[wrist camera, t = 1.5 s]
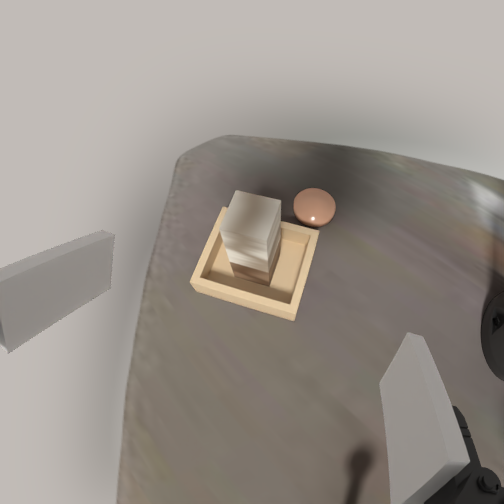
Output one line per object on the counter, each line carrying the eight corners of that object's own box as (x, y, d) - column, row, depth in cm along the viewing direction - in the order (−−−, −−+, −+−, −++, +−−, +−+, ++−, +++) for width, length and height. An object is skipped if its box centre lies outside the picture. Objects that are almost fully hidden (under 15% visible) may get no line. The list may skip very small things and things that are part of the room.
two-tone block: (280, 254, 44) (281, 200, 33) (269, 286, 42) (266, 241, 31) (246, 245, 45) (236, 190, 34) (234, 276, 43) (218, 228, 32)
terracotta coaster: (322, 187, 49) (323, 183, 48) (341, 218, 47) (343, 214, 46) (286, 200, 49) (286, 195, 48) (304, 233, 46) (305, 228, 45)
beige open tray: (316, 243, 45) (319, 230, 42) (294, 321, 40) (295, 314, 37) (226, 219, 48) (223, 206, 45) (196, 290, 43) (189, 281, 40)
